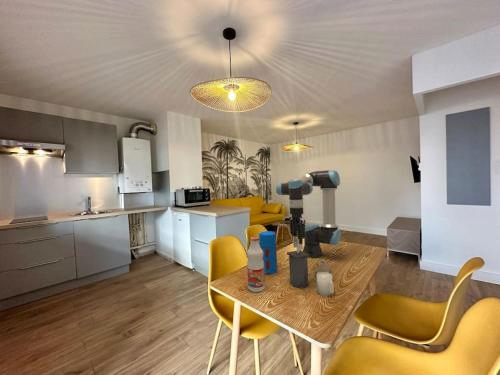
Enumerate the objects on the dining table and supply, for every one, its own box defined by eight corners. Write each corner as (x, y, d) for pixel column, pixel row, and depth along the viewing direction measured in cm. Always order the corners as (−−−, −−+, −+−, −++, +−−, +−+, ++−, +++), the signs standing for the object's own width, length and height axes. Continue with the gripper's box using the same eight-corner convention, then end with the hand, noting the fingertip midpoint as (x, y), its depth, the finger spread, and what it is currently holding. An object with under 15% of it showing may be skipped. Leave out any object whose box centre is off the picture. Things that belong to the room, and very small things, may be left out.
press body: (299, 276, 126) (298, 248, 126) (312, 285, 114) (311, 255, 114) (285, 279, 123) (284, 251, 122) (296, 289, 111) (295, 258, 110)
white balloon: (326, 287, 112) (325, 270, 112) (339, 296, 103) (338, 278, 103) (314, 289, 110) (313, 273, 110) (326, 299, 100) (326, 281, 100)
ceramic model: (332, 284, 114) (331, 266, 114) (311, 281, 119) (311, 264, 119) (334, 274, 127) (334, 258, 127) (315, 271, 132) (315, 255, 132)
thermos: (276, 275, 129) (274, 235, 128) (259, 274, 131) (257, 235, 130) (277, 268, 140) (276, 231, 139) (261, 267, 142) (260, 231, 141)
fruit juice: (268, 287, 114) (266, 237, 113) (256, 294, 108) (254, 241, 107) (256, 282, 121) (254, 234, 120) (244, 288, 115) (242, 238, 114)
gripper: (283, 206, 123) (284, 245, 124) (298, 209, 107) (300, 254, 108) (294, 205, 126) (295, 243, 126) (311, 208, 110) (312, 251, 110)
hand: (297, 248), depth 117 cm, fingers closed on plunger, 4 cm apart
